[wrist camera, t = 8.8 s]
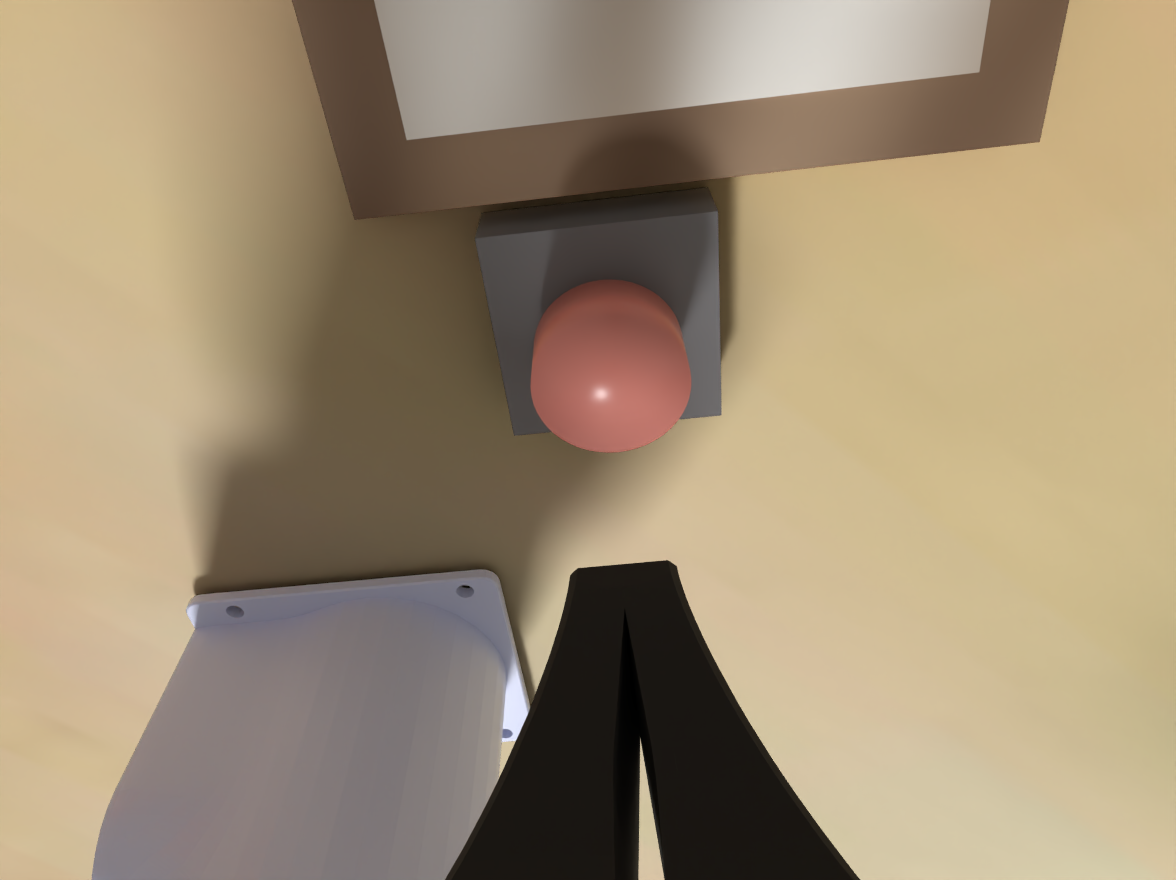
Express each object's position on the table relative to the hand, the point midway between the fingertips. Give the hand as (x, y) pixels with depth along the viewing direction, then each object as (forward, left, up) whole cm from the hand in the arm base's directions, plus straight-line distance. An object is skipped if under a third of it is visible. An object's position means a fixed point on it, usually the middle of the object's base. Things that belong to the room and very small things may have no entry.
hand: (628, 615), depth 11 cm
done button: (0, 0, -8) cm, 8 cm away
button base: (0, 0, -10) cm, 10 cm away
